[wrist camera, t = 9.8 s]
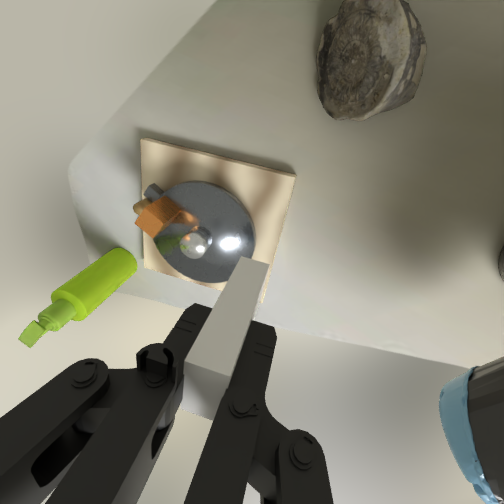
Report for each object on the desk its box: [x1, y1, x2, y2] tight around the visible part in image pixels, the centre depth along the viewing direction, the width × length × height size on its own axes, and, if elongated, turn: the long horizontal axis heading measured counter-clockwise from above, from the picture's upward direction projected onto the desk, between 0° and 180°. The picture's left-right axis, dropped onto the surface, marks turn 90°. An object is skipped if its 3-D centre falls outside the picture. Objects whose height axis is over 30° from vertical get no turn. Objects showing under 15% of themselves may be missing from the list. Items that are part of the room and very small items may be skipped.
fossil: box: [316, 0, 427, 121], centre depth 27 cm, size 11×9×10 cm
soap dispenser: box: [18, 248, 137, 348], centre depth 44 cm, size 6×7×20 cm
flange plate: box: [135, 180, 256, 283], centre depth 39 cm, size 18×16×6 cm
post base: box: [133, 138, 297, 303], centre depth 42 cm, size 22×22×6 cm
